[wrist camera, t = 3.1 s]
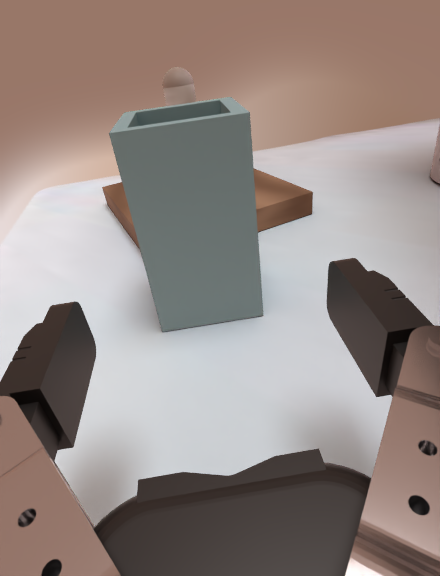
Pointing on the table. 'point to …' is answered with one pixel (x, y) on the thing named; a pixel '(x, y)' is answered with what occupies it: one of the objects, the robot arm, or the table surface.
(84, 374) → the robot arm
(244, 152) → the collar
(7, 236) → the table surface
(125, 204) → the peg board
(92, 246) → the table surface
